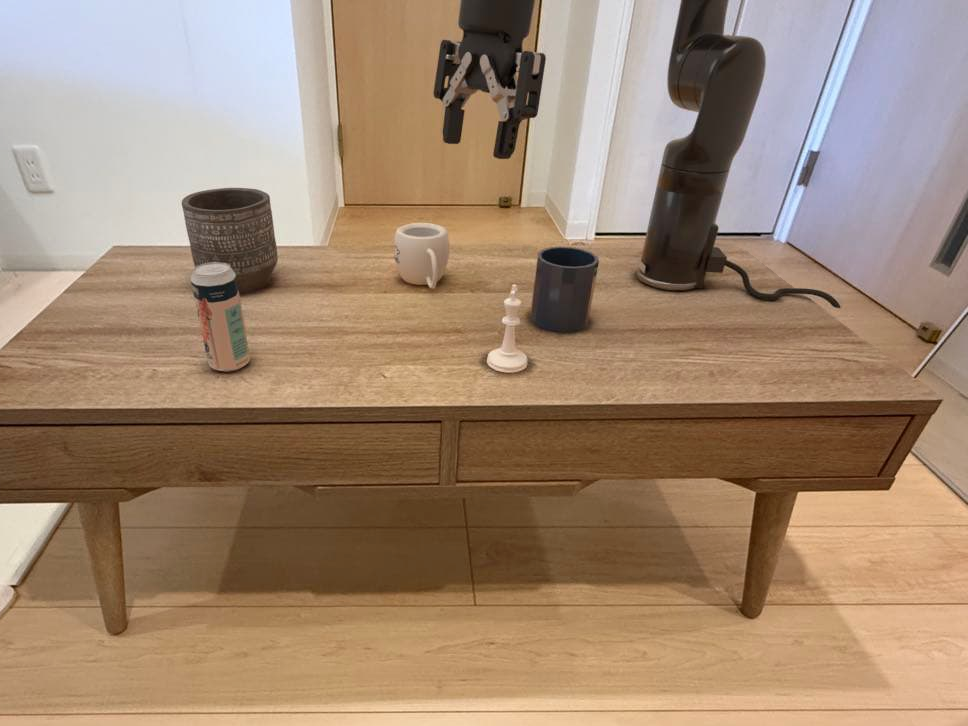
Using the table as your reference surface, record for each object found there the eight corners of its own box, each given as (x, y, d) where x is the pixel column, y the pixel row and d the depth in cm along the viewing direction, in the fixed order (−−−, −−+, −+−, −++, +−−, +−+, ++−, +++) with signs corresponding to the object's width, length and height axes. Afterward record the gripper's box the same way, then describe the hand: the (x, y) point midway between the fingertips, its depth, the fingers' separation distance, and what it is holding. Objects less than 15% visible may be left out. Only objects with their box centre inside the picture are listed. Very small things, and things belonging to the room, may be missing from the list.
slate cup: (584, 309, 87) (595, 248, 82) (590, 334, 81) (602, 269, 76) (529, 306, 88) (536, 245, 83) (531, 330, 81) (538, 266, 76)
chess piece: (481, 367, 73) (487, 289, 67) (493, 349, 77) (499, 274, 71) (521, 376, 72) (530, 297, 66) (531, 357, 75) (541, 281, 70)
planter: (199, 272, 97) (182, 189, 90) (277, 265, 100) (267, 185, 93) (197, 303, 87) (178, 213, 80) (284, 294, 90) (273, 207, 83)
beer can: (214, 354, 75) (194, 261, 68) (253, 353, 75) (237, 260, 69) (205, 375, 71) (183, 277, 64) (247, 373, 71) (229, 276, 65)
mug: (389, 271, 98) (387, 223, 94) (439, 267, 100) (440, 219, 96) (407, 301, 89) (406, 249, 84) (462, 295, 91) (465, 244, 86)
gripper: (579, -12, 59) (543, 163, 68) (479, -17, 68) (458, 138, 76) (527, -25, 55) (495, 164, 63) (428, -29, 64) (411, 138, 72)
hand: (475, 150), depth 70 cm, fingers open, 8 cm apart
